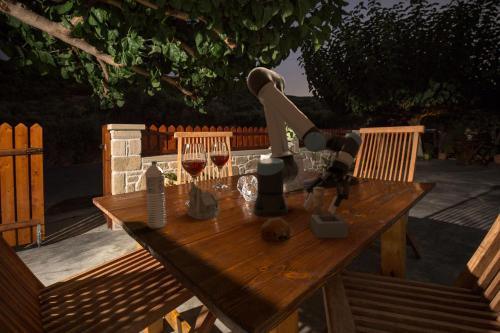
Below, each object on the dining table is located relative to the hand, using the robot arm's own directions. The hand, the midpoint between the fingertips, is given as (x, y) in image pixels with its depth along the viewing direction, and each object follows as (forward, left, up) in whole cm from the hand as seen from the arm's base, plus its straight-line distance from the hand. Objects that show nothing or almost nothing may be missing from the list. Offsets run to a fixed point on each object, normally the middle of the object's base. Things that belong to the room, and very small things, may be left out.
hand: (317, 210), depth 106 cm
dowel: (+1, +3, -6) cm, 7 cm away
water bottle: (-61, +3, -6) cm, 61 cm away
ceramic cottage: (-44, +19, -6) cm, 49 cm away
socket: (+2, -7, -6) cm, 10 cm away
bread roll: (-17, -10, -6) cm, 20 cm away
